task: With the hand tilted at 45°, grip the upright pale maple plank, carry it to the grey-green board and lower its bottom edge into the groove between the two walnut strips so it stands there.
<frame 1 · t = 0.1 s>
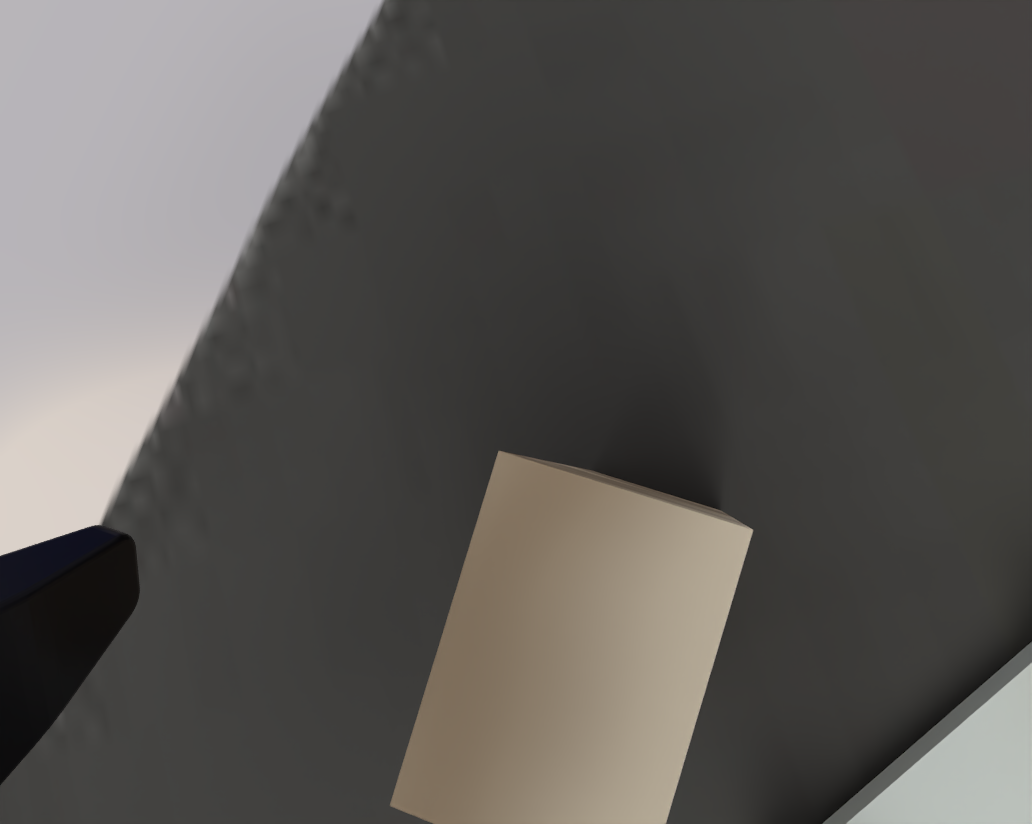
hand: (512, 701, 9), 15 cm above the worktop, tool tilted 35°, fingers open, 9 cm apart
maple plank: (627, 581, 24), on the worktop
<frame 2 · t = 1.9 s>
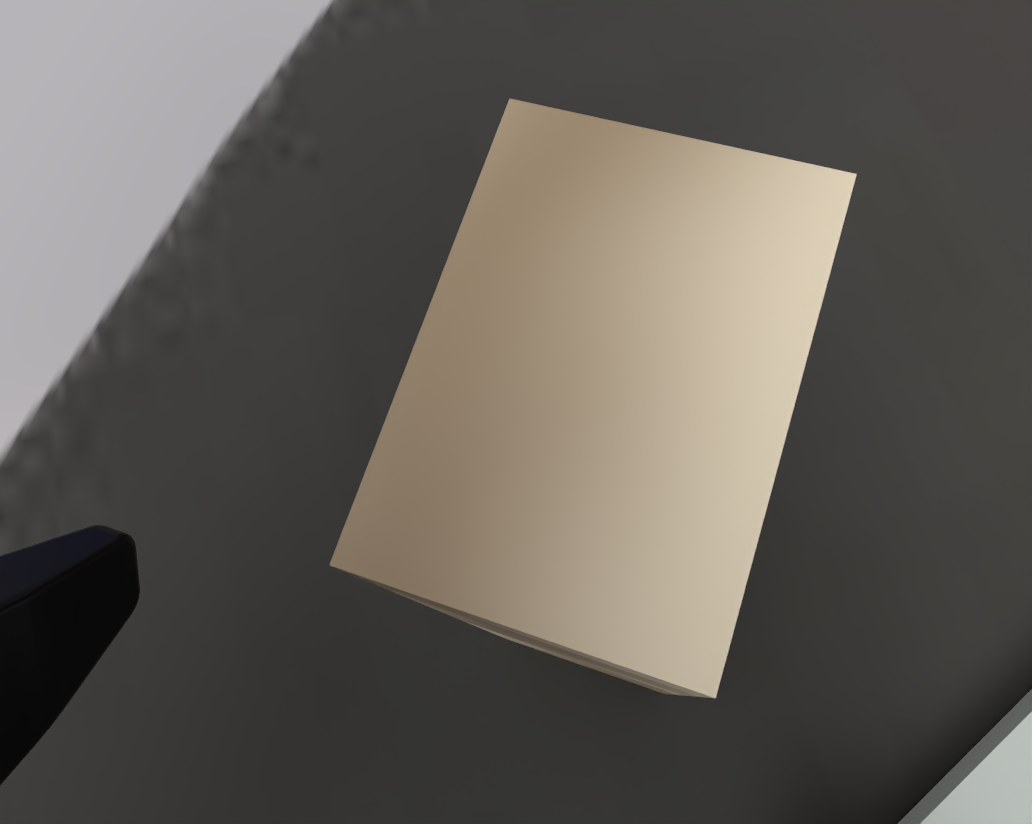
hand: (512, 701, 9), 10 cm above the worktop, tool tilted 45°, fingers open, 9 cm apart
maple plank: (617, 552, 20), on the worktop
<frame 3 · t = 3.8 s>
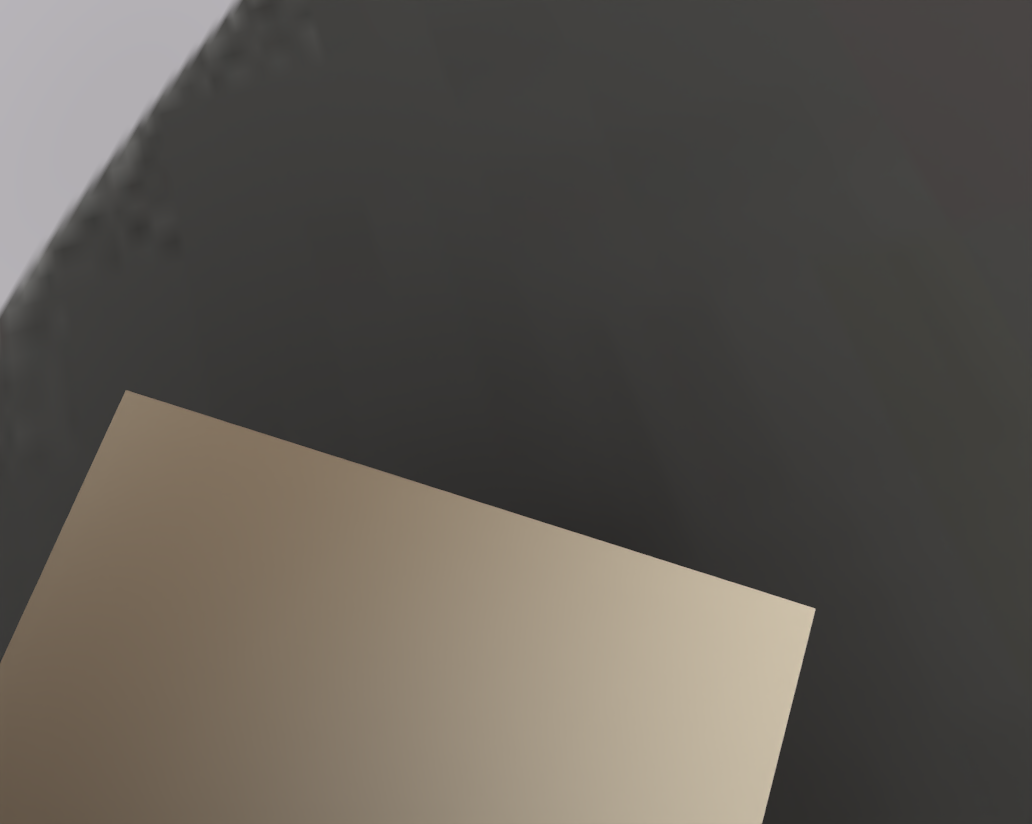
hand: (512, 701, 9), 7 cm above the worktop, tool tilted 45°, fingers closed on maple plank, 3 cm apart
maple plank: (535, 776, 15), on the worktop, touching gripper
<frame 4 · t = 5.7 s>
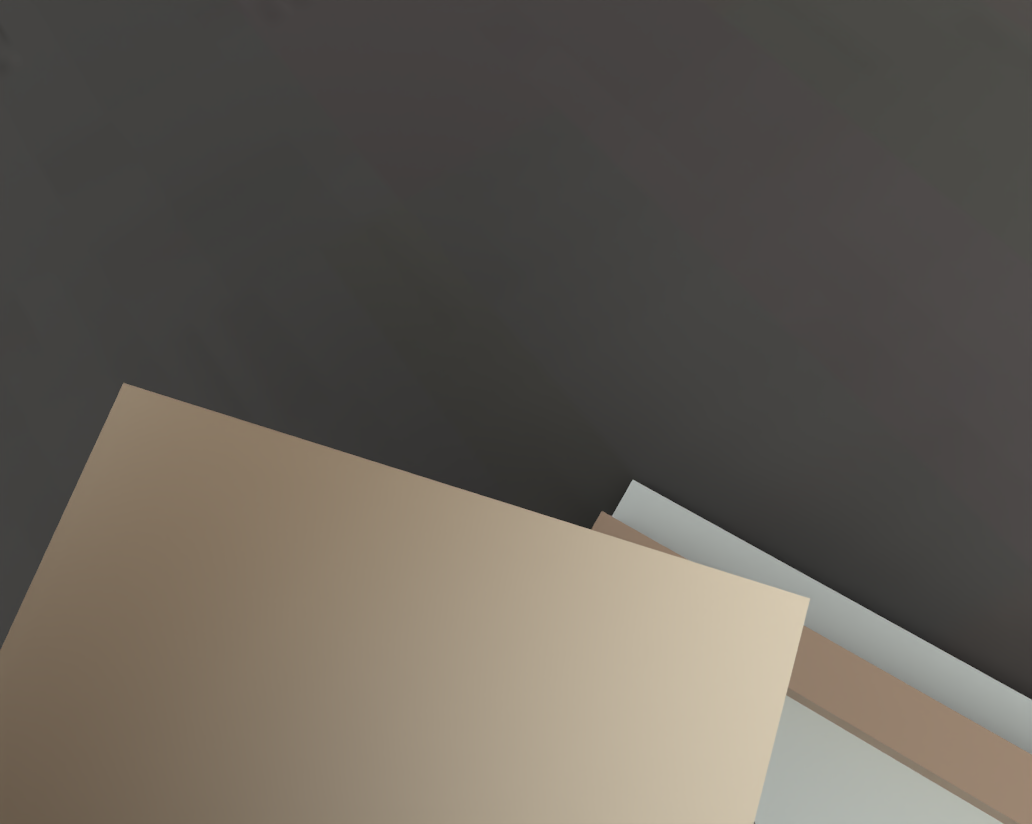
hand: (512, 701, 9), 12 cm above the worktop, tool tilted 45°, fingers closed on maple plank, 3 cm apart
maple plank: (535, 774, 15), point 6 cm above the worktop, touching gripper
when the fingers open (8 cm above the worktop, at t = 7.8 s): maple plank stays where it is, resting on grooved board.
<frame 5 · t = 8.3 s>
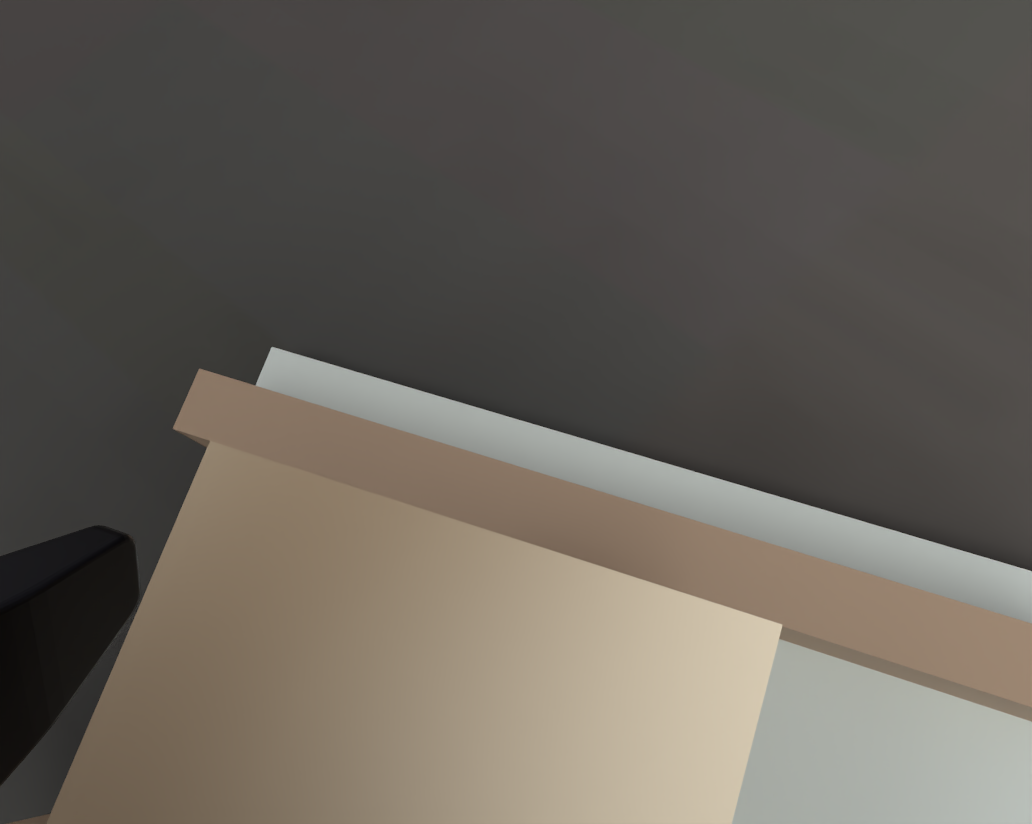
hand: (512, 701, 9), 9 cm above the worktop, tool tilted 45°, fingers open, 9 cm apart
maple plank: (542, 771, 16), point 1 cm above the worktop, touching grooved board
grooved board: (547, 766, 17), on the worktop
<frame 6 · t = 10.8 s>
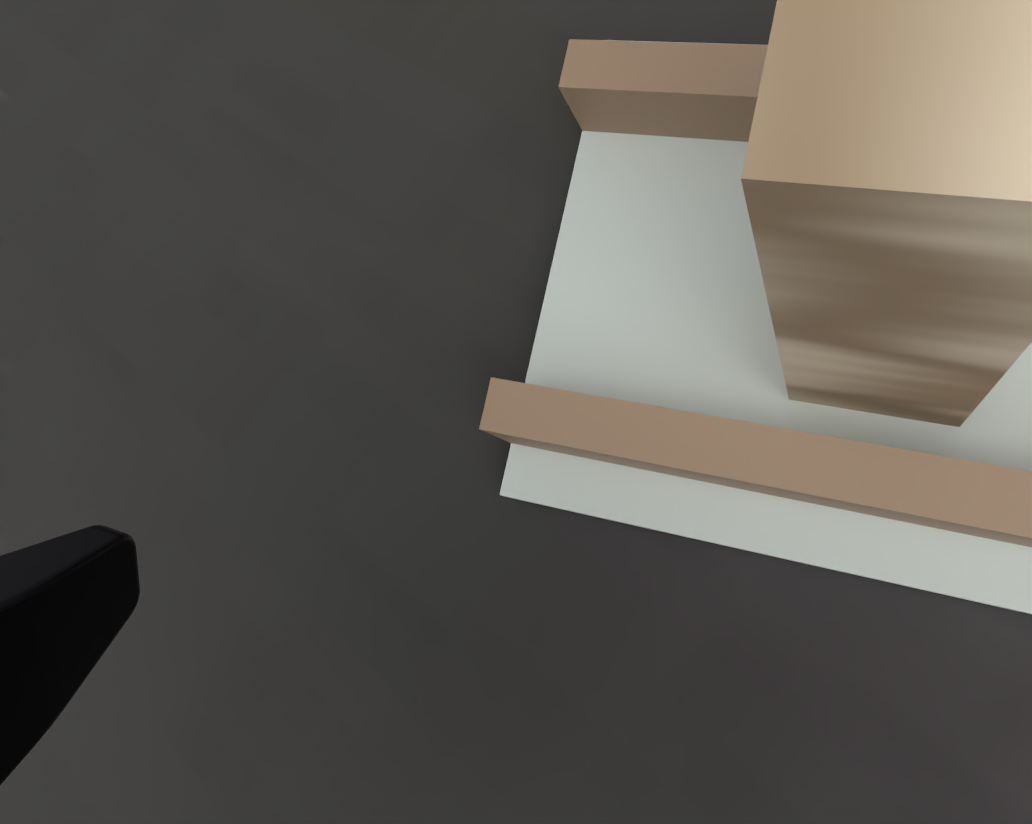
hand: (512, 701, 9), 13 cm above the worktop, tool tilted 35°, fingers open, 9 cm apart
maple plank: (891, 303, 20), point 1 cm above the worktop, touching grooved board
grooved board: (888, 314, 21), on the worktop
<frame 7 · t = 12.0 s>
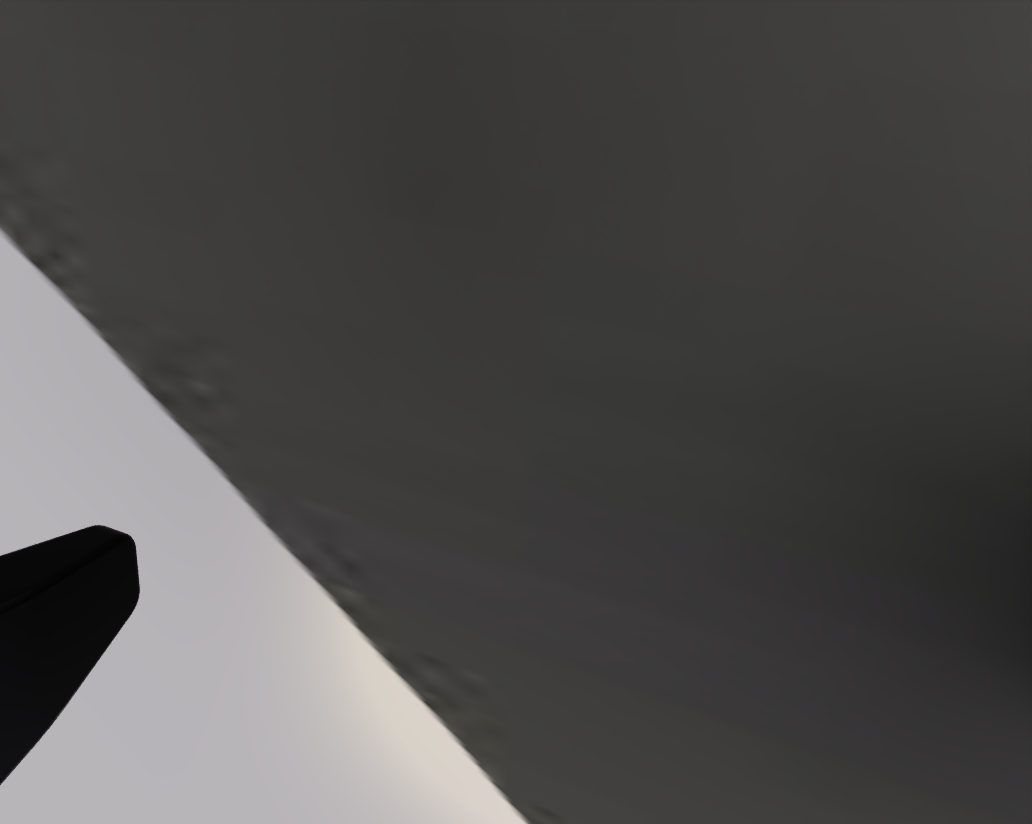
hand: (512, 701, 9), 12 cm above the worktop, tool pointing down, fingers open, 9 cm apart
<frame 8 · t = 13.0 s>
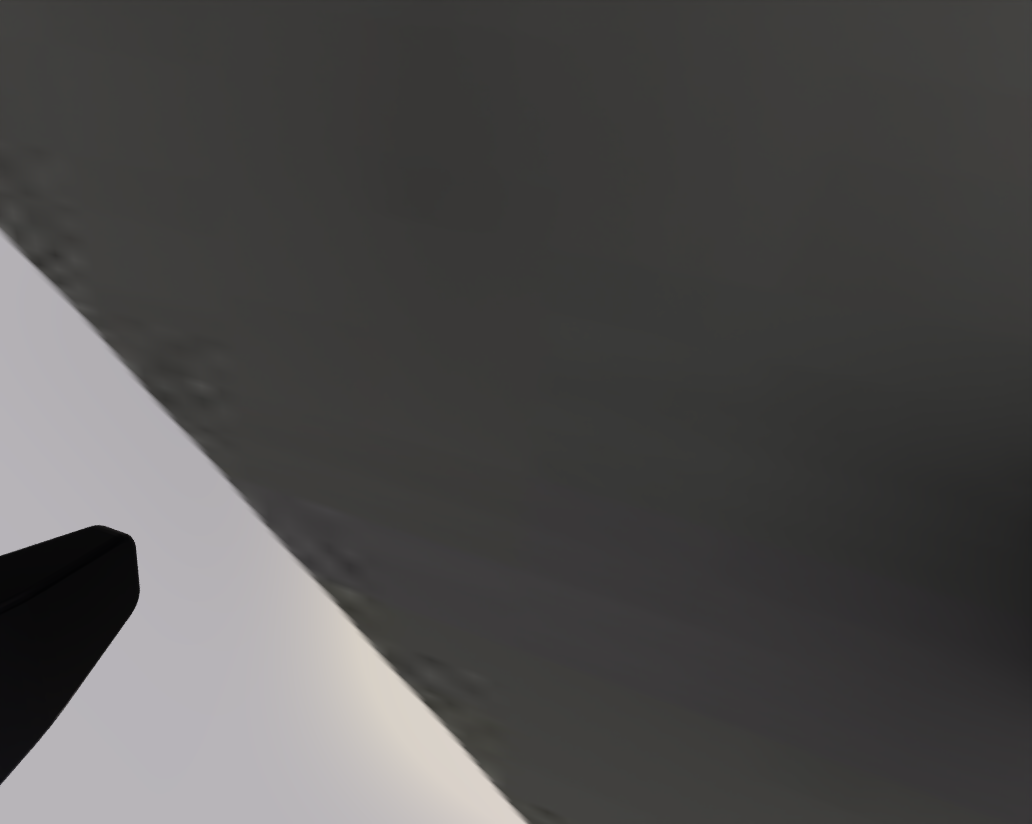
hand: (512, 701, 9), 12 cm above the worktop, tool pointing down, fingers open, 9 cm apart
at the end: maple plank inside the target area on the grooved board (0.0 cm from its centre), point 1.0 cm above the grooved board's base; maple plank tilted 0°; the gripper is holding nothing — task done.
